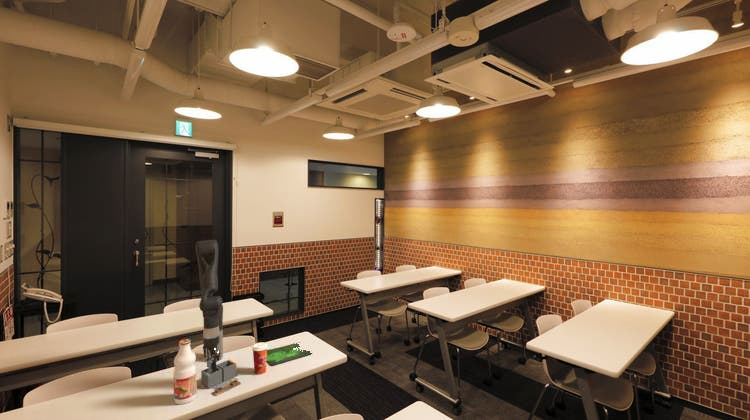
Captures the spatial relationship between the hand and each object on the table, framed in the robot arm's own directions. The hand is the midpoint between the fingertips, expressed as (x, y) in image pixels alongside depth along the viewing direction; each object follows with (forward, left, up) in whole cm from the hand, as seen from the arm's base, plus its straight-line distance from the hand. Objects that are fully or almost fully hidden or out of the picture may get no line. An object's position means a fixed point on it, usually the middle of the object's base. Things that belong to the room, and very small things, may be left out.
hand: (211, 367), depth 168 cm
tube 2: (0, +8, -8) cm, 11 cm away
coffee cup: (+10, +22, -9) cm, 26 cm away
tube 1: (0, 0, -8) cm, 8 cm away
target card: (+6, +4, -8) cm, 11 cm away
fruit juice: (+3, -14, -9) cm, 17 cm away
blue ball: (0, 0, +2) cm, 2 cm away
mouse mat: (+4, +45, -9) cm, 46 cm away
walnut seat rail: (+11, +2, -8) cm, 14 cm away
